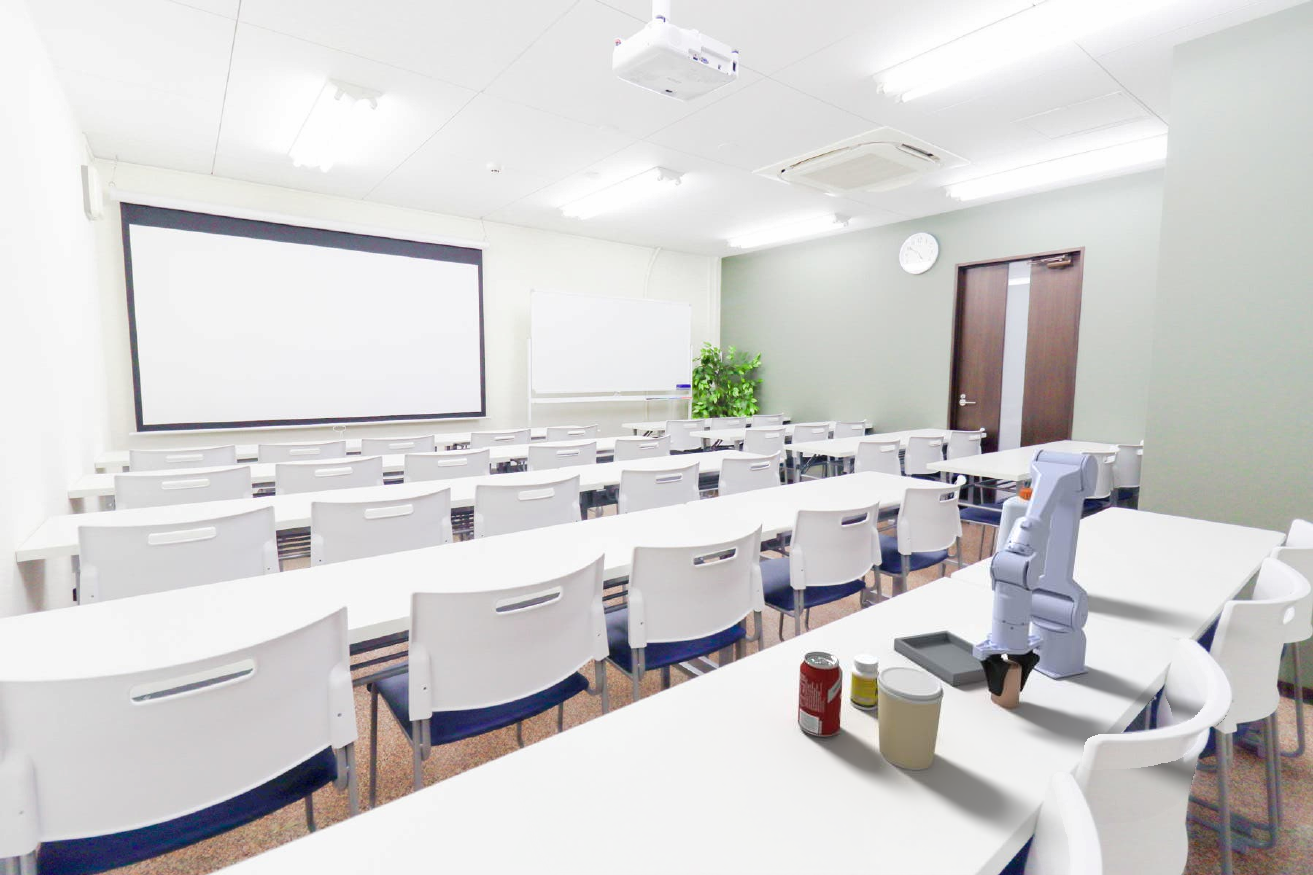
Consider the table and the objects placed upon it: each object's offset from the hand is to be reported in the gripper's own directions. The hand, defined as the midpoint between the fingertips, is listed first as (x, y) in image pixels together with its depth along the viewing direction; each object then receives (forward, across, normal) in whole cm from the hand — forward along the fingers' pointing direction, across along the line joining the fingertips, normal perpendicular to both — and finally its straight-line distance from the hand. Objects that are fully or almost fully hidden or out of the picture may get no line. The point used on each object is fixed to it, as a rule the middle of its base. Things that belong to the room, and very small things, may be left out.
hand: (1005, 691), depth 108 cm
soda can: (+2, +37, -3) cm, 37 cm away
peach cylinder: (+2, 0, 0) cm, 2 cm away
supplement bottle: (+2, +25, -7) cm, 26 cm away
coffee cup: (+2, +28, +7) cm, 29 cm away
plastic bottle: (+2, -55, -42) cm, 69 cm away
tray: (+2, -2, -15) cm, 15 cm away
